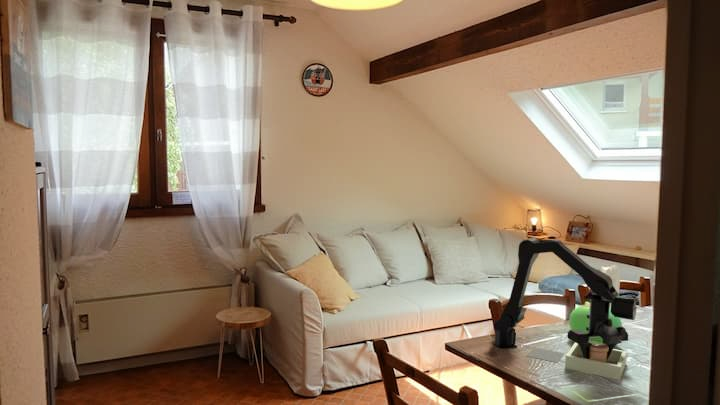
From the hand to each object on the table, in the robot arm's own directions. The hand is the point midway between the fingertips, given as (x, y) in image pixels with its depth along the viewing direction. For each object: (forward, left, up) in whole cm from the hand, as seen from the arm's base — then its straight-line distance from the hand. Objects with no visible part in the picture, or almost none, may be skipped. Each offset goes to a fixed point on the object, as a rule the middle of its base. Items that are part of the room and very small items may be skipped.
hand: (596, 360), depth 179 cm
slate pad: (-10, +12, -2) cm, 16 cm away
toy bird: (+17, +20, -2) cm, 26 cm away
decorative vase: (+37, +37, -2) cm, 52 cm away
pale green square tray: (0, 0, -2) cm, 2 cm away
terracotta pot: (0, 0, -2) cm, 2 cm away
